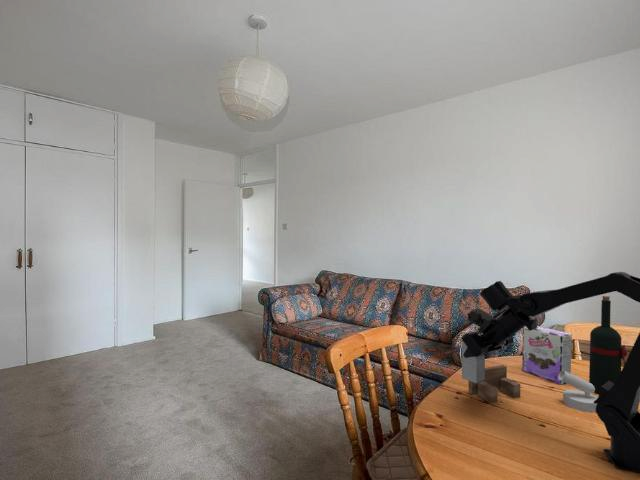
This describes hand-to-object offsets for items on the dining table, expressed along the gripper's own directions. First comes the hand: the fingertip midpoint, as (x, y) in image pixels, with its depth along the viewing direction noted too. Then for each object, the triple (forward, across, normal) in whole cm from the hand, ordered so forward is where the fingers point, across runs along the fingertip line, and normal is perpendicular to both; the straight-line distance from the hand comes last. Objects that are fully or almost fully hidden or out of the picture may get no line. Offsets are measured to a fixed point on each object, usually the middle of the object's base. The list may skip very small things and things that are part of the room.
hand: (469, 354), depth 105 cm
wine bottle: (-7, -40, +26) cm, 48 cm away
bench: (+7, -10, +12) cm, 17 cm away
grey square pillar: (+4, 0, +6) cm, 7 cm away
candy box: (+6, -38, +14) cm, 41 cm away
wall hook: (-5, -23, +24) cm, 34 cm away
